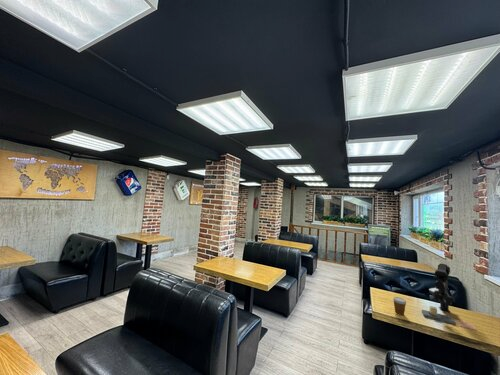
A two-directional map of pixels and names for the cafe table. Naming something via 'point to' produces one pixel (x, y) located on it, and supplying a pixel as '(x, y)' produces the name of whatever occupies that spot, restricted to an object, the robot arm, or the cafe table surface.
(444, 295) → the robot arm
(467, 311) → the cafe table surface
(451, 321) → the rail plate
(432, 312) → the brass block
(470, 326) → the mat
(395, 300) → the disposable coffee cup
